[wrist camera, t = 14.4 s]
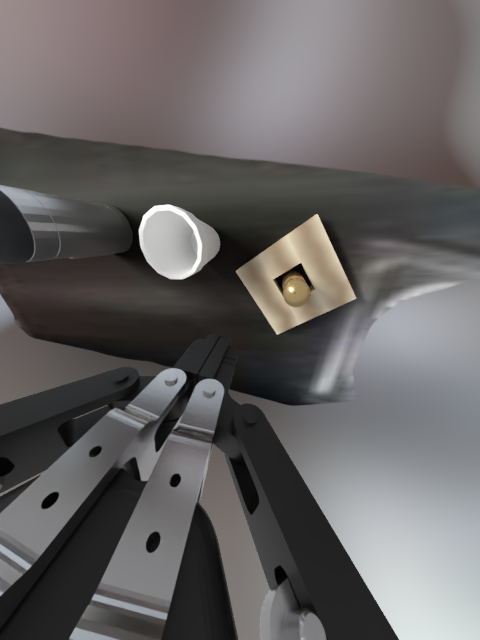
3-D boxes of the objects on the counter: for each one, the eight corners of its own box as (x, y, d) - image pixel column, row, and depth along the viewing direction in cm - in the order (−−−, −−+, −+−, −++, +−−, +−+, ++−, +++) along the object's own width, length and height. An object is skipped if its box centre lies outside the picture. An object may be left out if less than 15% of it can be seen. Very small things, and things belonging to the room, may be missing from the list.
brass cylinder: (287, 292, 36) (291, 311, 27) (278, 276, 35) (278, 290, 26) (305, 283, 34) (315, 299, 25) (296, 265, 33) (303, 276, 24)
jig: (277, 327, 40) (277, 334, 37) (239, 268, 35) (235, 271, 32) (349, 292, 33) (356, 298, 30) (313, 216, 29) (317, 213, 26)
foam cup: (185, 211, 33) (135, 197, 21) (230, 220, 32) (204, 211, 21) (184, 261, 37) (142, 272, 26) (223, 270, 36) (199, 286, 25)
